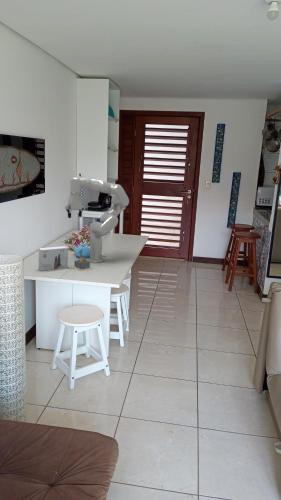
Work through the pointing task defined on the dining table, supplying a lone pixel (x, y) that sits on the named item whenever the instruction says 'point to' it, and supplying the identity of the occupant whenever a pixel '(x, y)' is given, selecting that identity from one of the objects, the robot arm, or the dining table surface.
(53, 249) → the skincare box
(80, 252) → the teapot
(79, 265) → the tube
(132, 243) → the dining table surface
